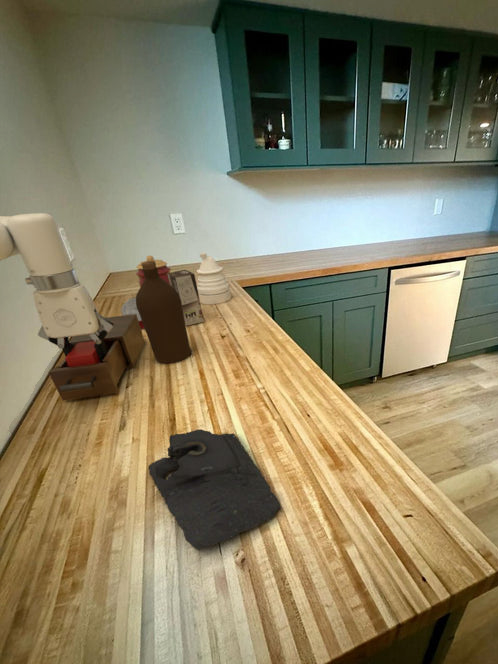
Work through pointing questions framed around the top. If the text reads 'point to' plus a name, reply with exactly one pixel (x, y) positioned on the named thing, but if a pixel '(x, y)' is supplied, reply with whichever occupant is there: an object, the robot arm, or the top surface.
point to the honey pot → (212, 282)
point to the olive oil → (162, 316)
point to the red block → (82, 354)
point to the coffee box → (187, 295)
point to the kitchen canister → (160, 266)
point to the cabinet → (121, 336)
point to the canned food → (131, 310)
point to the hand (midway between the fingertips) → (89, 358)
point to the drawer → (91, 374)
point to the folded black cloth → (212, 487)
